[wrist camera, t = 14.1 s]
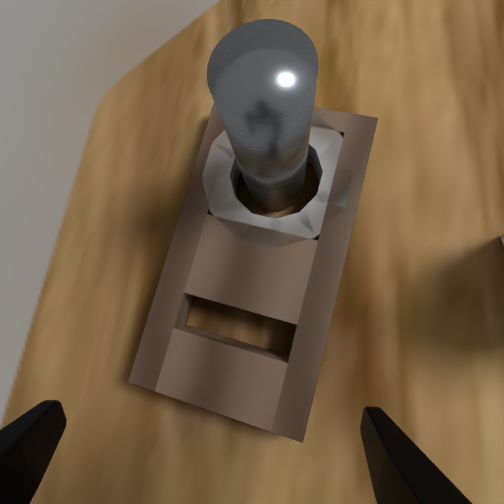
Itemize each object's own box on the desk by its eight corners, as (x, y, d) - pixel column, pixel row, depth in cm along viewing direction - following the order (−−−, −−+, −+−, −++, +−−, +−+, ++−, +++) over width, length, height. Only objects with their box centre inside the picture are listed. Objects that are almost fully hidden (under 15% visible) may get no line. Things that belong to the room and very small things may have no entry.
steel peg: (309, 164, 23) (329, 25, 11) (295, 216, 23) (303, 128, 11) (256, 153, 24) (223, 13, 12) (242, 204, 23) (193, 109, 12)
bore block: (368, 137, 23) (378, 117, 20) (300, 425, 20) (302, 443, 18) (224, 111, 25) (217, 91, 22) (145, 372, 22) (128, 382, 20)
